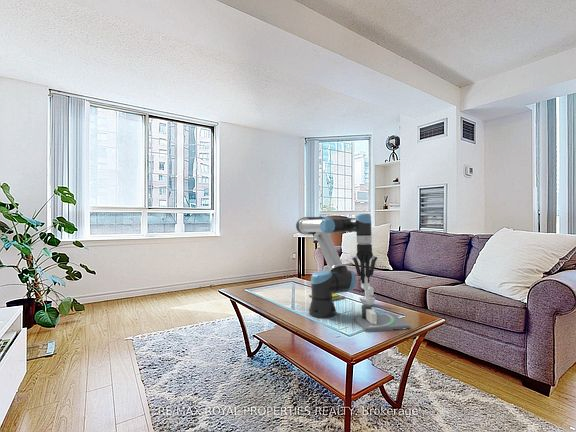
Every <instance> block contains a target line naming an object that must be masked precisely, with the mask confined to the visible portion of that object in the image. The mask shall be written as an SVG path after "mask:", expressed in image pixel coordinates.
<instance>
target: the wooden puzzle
mask: <svg viewBox="0 0 576 432" xmlns="http://www.w3.org/2000/svg"><path fill="white" fill-rule="evenodd" d="M309 296H310V297H311V298H312V293H310V294H308V297H309ZM332 299H333V301H336V300H342V299H346V298H345V296H344V295H342V296H341V295H339V293H333V294H332Z"/></svg>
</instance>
